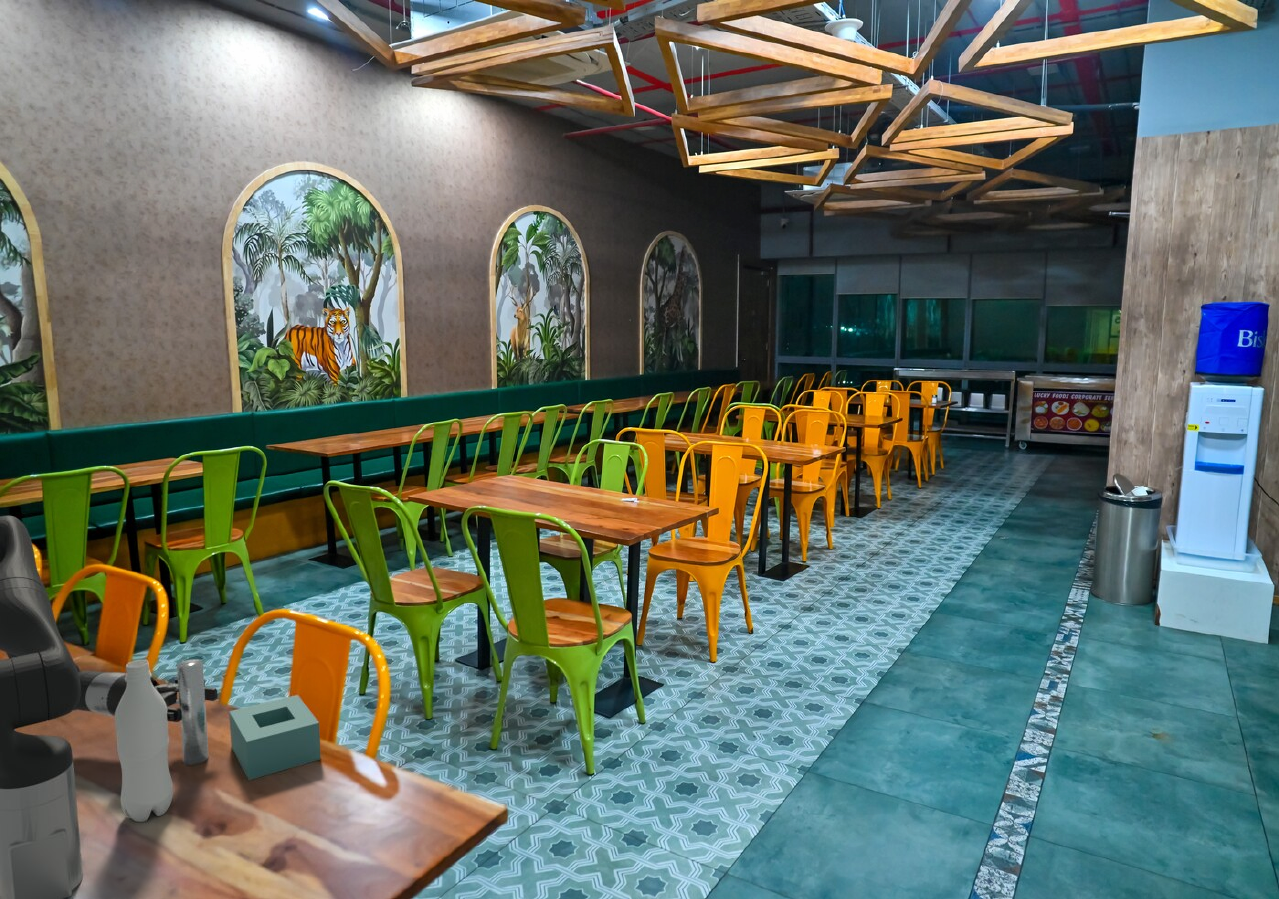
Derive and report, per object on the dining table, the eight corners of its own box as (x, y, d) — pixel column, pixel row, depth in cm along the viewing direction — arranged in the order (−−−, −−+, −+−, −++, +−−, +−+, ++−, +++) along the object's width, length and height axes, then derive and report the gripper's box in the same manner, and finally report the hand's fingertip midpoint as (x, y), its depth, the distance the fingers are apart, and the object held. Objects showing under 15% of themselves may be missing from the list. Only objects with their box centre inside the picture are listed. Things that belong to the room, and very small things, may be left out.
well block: (320, 759, 148) (319, 722, 147) (248, 780, 141) (246, 741, 140) (299, 729, 159) (297, 694, 158) (231, 747, 152) (229, 711, 151)
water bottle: (112, 817, 130) (99, 667, 126) (156, 795, 136) (146, 651, 133) (139, 830, 127) (127, 676, 123) (184, 807, 133) (173, 660, 129)
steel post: (210, 760, 148) (204, 664, 145) (185, 767, 145) (178, 670, 143) (206, 751, 151) (200, 657, 148) (181, 757, 148) (175, 662, 146)
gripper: (86, 691, 142) (166, 702, 139) (152, 660, 156) (226, 668, 152) (90, 732, 143) (169, 743, 140) (154, 697, 157) (228, 707, 153)
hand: (198, 704), depth 146 cm, fingers open, 8 cm apart
